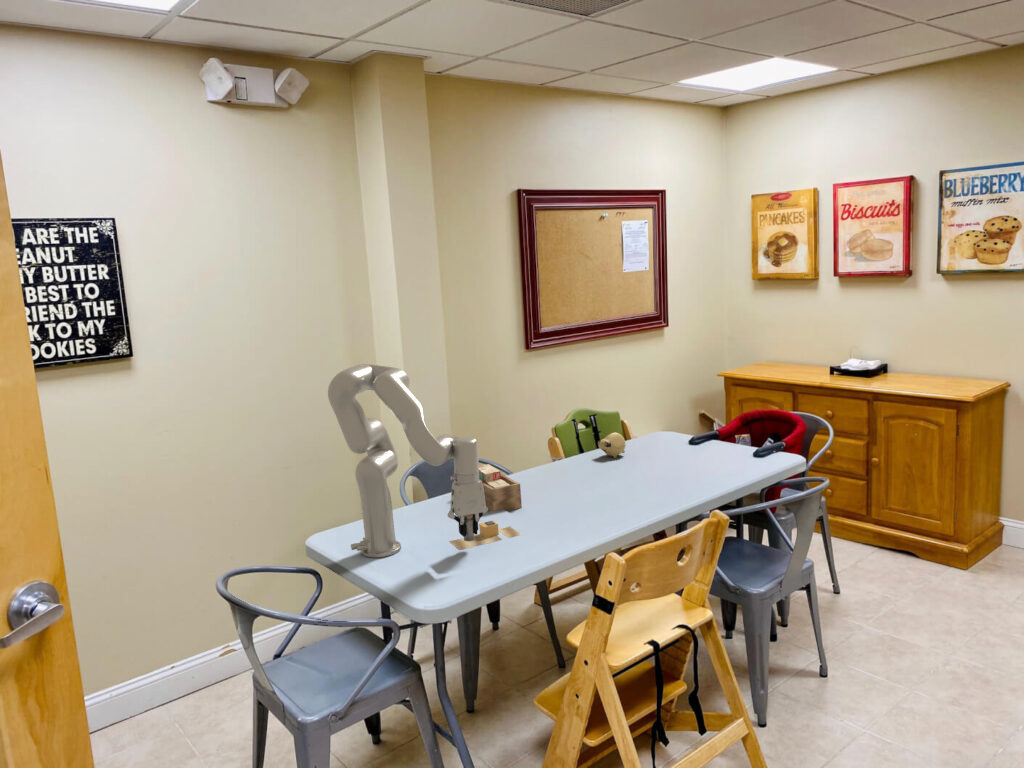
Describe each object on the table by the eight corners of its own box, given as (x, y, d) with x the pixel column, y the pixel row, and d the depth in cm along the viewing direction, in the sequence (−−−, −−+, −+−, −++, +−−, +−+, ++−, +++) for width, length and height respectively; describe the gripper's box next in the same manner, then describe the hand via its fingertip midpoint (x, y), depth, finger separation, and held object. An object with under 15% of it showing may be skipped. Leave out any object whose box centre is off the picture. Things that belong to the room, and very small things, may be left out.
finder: (484, 537, 246) (483, 526, 246) (479, 533, 250) (479, 522, 249) (498, 534, 248) (497, 523, 248) (493, 530, 252) (492, 519, 251)
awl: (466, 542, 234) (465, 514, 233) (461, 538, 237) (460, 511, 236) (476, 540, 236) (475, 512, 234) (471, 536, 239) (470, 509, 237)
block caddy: (494, 513, 272) (492, 489, 270) (466, 495, 295) (464, 473, 293) (521, 507, 276) (520, 483, 275) (492, 490, 299) (490, 468, 298)
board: (459, 553, 237) (459, 550, 237) (449, 544, 245) (449, 541, 245) (522, 538, 247) (522, 534, 246) (510, 530, 255) (510, 526, 254)
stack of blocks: (512, 509, 276) (509, 476, 274) (496, 512, 273) (493, 479, 271) (491, 494, 295) (488, 463, 293) (476, 497, 293) (473, 466, 291)
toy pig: (594, 456, 337) (593, 433, 335) (616, 451, 342) (615, 428, 341) (608, 461, 328) (607, 437, 326) (630, 456, 334) (629, 432, 332)
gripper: (446, 484, 226) (448, 543, 230) (496, 476, 233) (497, 533, 237) (437, 478, 233) (439, 535, 236) (486, 470, 240) (487, 525, 243)
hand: (468, 533), depth 236 cm, fingers closed on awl, 3 cm apart
